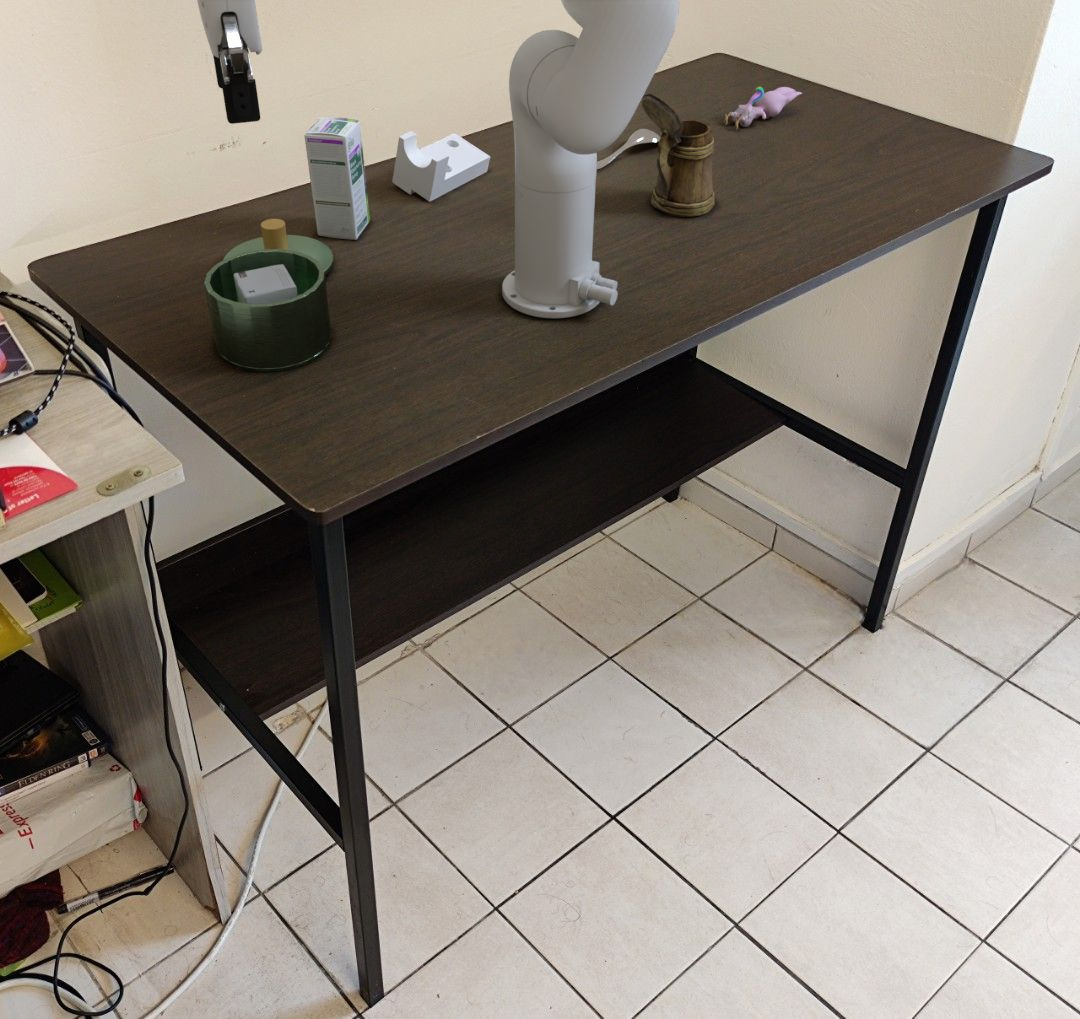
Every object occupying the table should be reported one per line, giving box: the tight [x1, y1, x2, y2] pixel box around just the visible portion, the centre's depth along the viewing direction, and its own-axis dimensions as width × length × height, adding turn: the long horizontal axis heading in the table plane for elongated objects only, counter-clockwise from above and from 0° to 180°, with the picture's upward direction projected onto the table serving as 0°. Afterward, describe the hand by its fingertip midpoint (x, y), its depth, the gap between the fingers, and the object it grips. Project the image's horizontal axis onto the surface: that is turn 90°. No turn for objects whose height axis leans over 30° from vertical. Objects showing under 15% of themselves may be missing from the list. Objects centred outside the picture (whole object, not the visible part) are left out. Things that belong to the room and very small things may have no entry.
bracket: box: [391, 130, 491, 203], centre depth 171 cm, size 13×7×8 cm, turn 143°
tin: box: [203, 249, 332, 373], centre depth 137 cm, size 13×13×8 cm
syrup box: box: [303, 116, 371, 241], centre depth 157 cm, size 6×6×14 cm
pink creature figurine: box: [723, 86, 803, 131], centre depth 192 cm, size 6×6×15 cm
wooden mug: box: [641, 93, 716, 218], centre depth 162 cm, size 9×14×18 cm, turn 134°
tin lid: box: [222, 218, 334, 276], centre depth 151 cm, size 14×14×6 cm
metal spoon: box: [597, 128, 661, 171], centre depth 179 cm, size 20×4×5 cm
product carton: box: [234, 264, 298, 304], centre depth 137 cm, size 6×6×7 cm
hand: (238, 103), depth 121 cm, fingers open, 9 cm apart
